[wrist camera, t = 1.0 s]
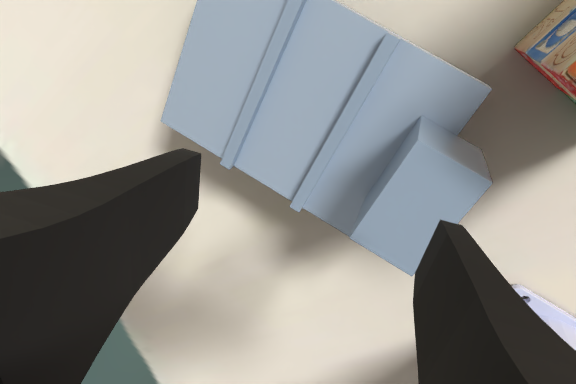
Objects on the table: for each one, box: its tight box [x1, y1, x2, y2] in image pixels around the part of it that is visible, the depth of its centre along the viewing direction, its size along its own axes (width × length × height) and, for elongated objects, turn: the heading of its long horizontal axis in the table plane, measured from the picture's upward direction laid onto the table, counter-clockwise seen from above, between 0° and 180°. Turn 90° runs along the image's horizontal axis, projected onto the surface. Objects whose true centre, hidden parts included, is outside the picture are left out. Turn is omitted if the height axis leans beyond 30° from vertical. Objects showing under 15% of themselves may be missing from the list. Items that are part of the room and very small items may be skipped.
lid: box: [161, 0, 493, 276], centre depth 18 cm, size 15×10×5 cm, turn 63°
